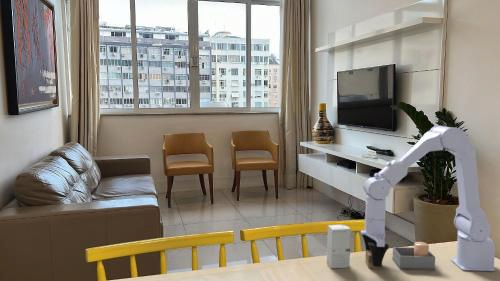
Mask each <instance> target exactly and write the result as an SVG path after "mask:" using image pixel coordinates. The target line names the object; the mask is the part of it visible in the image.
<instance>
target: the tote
mask: <svg viewBox="0 0 500 281" xmlns="http://www.w3.org/2000/svg"><path fill="white" fill-rule="evenodd" d="M391 258H392V261H393V262H394V263H395V264H396V266H397V267H398V269H399V270H422V271H423V270H424V271H427V270H429V271H435V270H436V256H435V255H434V254H433V253H432V252H431V251H430V250H429V251H428V256H414V247H408V246H407V247H405V246H402V247H398V246H394V247H392V257H391Z"/></svg>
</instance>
